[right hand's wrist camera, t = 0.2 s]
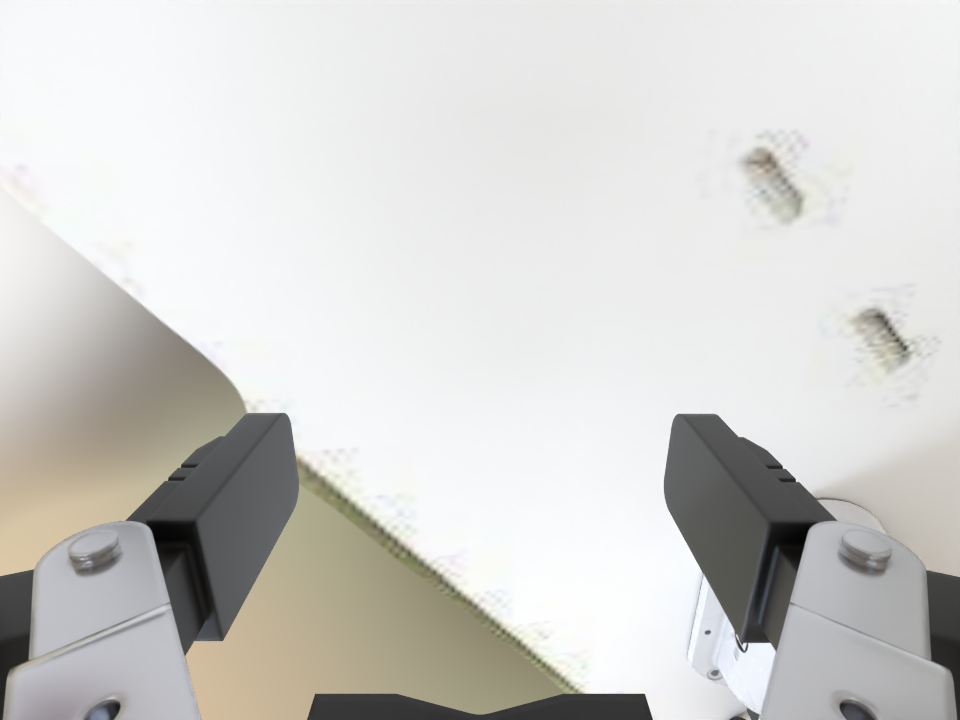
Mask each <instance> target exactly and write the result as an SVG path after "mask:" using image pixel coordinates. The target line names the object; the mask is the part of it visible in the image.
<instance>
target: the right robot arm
mask: <svg viewBox="0 0 960 720" xmlns="http://www.w3.org/2000/svg"><path fill="white" fill-rule="evenodd" d="M298 491H299V478H298V471H297V463H296V456H295V449H294V442H293V435H292V428H291V423H290V419H289V417H288V415H287V414H285V413H248V414H246V415H245V416H244V417H243V418H242V419H241V420H240V421H239V422H238V423H237V424H236V425H235V426H234V427H233V428H232V429H231V430H230V431H229V433H228V434H227V435H226V436H220V437H218V438H216V439H214V440H213V441H211V442H209V443H207V444H205V445H204V446H202V447H200V448H198V449H197V450H196V451H195V452H194V453H193V454H192V455H191V456H190V457H189V458H188V459H187V460H186V461H185V462H184V463H183V464H182V465H181V468H178V469H177V470H176V471H175V472H174V473H173V474H172V475H171V476H170V477H169V478H168V481H165V482H164V483H163V484H162V485H161V486H160V487H159V488H158V489H157V490H156V491H155V492H154V493H153V494H152V495H151V496H150V497H149V498H148V499H147V500H146V501H145V502H144V503H143V504H142V505H141V506H140V507H139V508H138V509H137V510H136V511H135V512H134V513H133V514H132V515H131V516H130V517H129V518H128V519H127V520H126V521H118V522H111V523H106V524H102V525H98V526H94V527H91V528H89V529H86V530H83V531H81V532H79V533H77V534H74V535H72V536H70V537H68V538H67V539H65V540H63V541H62V542H60V543H58V544H57V545H55V546H54V547H53V548H52V549H50V550H49V551H48V552H47V553H46V554H45V555H44V556H43V557H42V558H41V559H40V560H39V562H38V563H37V565H36V567H35V569H34V570H29V571H24V572H19V573H14V574H10V575H5V576H0V720H202V719H201V715H200V711H199V707H198V704H197V700H196V696H195V692H194V688H193V685H192V681H191V677H190V673H189V669H188V665H187V662H186V658H185V655H186V653H187V652H188V650H189V648H190V647H191V645H192V644H193V642H194V641H223V640H224V638H225V636H226V634H227V632H228V630H229V629H230V627H231V625H232V623H233V621H234V619H235V618H236V616H237V614H238V612H239V610H240V608H241V606H242V605H243V603H244V601H245V599H246V597H247V595H248V594H249V592H250V590H251V588H252V586H253V584H254V582H255V581H256V579H257V577H258V575H259V573H260V571H261V569H262V568H263V566H264V564H265V562H266V560H267V558H268V556H269V555H270V553H271V551H272V549H273V547H274V545H275V544H276V542H277V540H278V538H279V536H280V534H281V532H282V531H283V529H284V527H285V525H286V523H287V521H288V520H289V518H290V516H291V514H292V512H293V510H294V508H295V506H296V502H297V498H298ZM664 494H665V500H666V504H667V507H668V510H669V512H670V513H671V515H672V517H673V519H674V521H675V523H676V524H677V526H678V528H679V530H680V532H681V534H682V535H683V537H684V539H685V541H686V543H687V544H688V546H689V548H690V550H691V552H692V554H693V555H694V557H695V559H696V561H697V563H698V565H699V566H700V568H701V570H702V572H703V574H704V576H705V577H706V579H707V581H708V583H709V585H710V586H711V588H712V590H713V592H714V594H715V596H716V597H717V599H718V601H719V603H720V605H721V607H722V608H723V610H724V612H725V614H726V616H727V618H728V619H729V621H730V623H731V625H732V627H733V629H734V630H735V632H736V634H737V636H738V638H739V639H740V641H741V643H771V645H772V646H773V648H774V650H775V651H776V654H775V658H774V662H773V665H772V669H771V673H770V677H769V681H768V684H767V688H766V692H765V696H764V700H763V704H762V707H761V711H760V715H759V719H758V720H960V577H956V576H951V575H946V574H942V573H937V572H932V571H927V570H926V569H925V567H924V565H923V563H922V562H921V560H920V559H919V558H918V557H917V556H916V555H915V554H914V553H913V552H912V551H911V550H910V549H909V548H907V547H906V546H905V545H903V544H902V543H900V542H898V541H897V540H895V539H893V538H892V537H890V536H888V535H886V534H884V533H881V532H879V531H877V530H874V529H871V528H869V527H866V526H862V525H858V524H854V523H849V522H842V521H838V520H837V519H835V518H834V517H833V516H832V515H831V514H830V513H829V512H828V511H827V510H826V509H825V508H824V507H823V506H822V505H821V504H820V503H819V502H818V501H817V500H816V499H815V498H814V497H813V496H812V495H811V494H810V493H809V492H808V491H807V490H806V489H805V488H804V487H803V486H802V485H801V484H800V483H799V482H796V479H795V478H794V477H793V476H792V475H791V474H790V473H789V472H788V471H787V470H786V469H783V466H782V465H781V464H780V463H779V462H778V461H777V460H776V459H775V458H774V457H773V456H772V455H771V454H770V453H769V452H768V451H767V450H765V449H763V448H762V447H760V446H758V445H756V444H755V443H753V442H751V441H749V440H747V439H746V438H744V437H738V436H737V435H736V434H735V433H734V432H733V431H732V430H731V429H730V428H729V427H728V426H727V425H726V423H725V422H724V421H723V420H722V419H721V418H720V417H719V416H718V415H716V414H677V415H676V416H675V418H674V420H673V423H672V428H671V435H670V442H669V449H668V456H667V463H666V470H665V477H664ZM307 720H653V719H652V716H651V712H650V709H649V706H648V703H647V700H646V696H645V694H561V695H558V696H554V697H550V698H547V699H543V700H539V701H535V702H532V703H528V704H524V705H520V706H516V707H512V708H509V709H505V710H501V711H498V712H494V713H490V714H484V715H476V714H470V713H466V712H463V711H459V710H455V709H451V708H448V707H444V706H440V705H436V704H433V703H429V702H425V701H421V700H417V699H413V698H410V697H406V696H402V695H399V694H315V697H314V700H313V703H312V706H311V709H310V712H309V716H308V719H307Z"/></svg>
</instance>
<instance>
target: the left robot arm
mask: <svg viewBox="0 0 960 720" xmlns="http://www.w3.org/2000/svg"><path fill="white" fill-rule="evenodd" d="M817 501H818V502H819V503H820V504H821V505H822V506H823V507H824V508H825V509H826V510H827V511H828V512H829V513H830V514H831V515H832V516H833V517H834V518H835V519H837V520H838V521H842V522H849V523H854V524H858V525H862V526H866V527H869V528H871V529H874V530H877V531H879V532H881V533H884V534H886V532H885V530H884V528H883V526H882V525H881V523H880V522H879V521H878V519H877V518H876V517H875V516H874V515H872V514H871V513H870V512H868V511H867V510H865V509H864V508H862V507H860V506H857V505H855V504H852V503H849V502H845V501H839V500H825V499H824V500H817ZM886 535H887V534H886ZM775 654H776V651H775V650H774V648H773V646H772V645H771V643H741V641H740V639H739V638H738V636H737V634H736V632H735V630H734V629H733V627H732V625H731V623H730V621H729V619H728V618H727V616H726V614H725V612H724V610H723V608H722V607H721V605H720V603H719V601H718V599H717V597H716V596H715V594H714V592H713V590H712V588H711V586H710V585H709V583H708V581H707V579H706V577H705V576H704V575H703V580H702V585H701V590H700V594H699V599H698V604H697V609H696V614H695V619H694V624H693V629H692V634H691V639H690V644H689V649H688V655H687V659H688V661H689V663H690V665H691V667H692V668H693V669H694V670H695V671H696V672H698V673H699V674H700V675H702V676H703V677H705V678H707V679H709V680H711V681H714V682H716V683H719V684H722V685H725V686H728V687H729V688H730V689H731V691H732V692H733V694H734V695H735V696H736V697H737V699H738V700H739V701H740V702H741V703H742V704H743V705H745V706H746V707H747V708H748V709H747V712H748V714H749V716H750V718H751V720H758V719H759V715H760V711H761V707H762V704H763V700H764V696H765V692H766V688H767V684H768V681H769V677H770V673H771V669H772V665H773V662H774V658H775ZM731 720H746V719H743V718H740V717H737V718H733V719H731Z"/></svg>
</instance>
